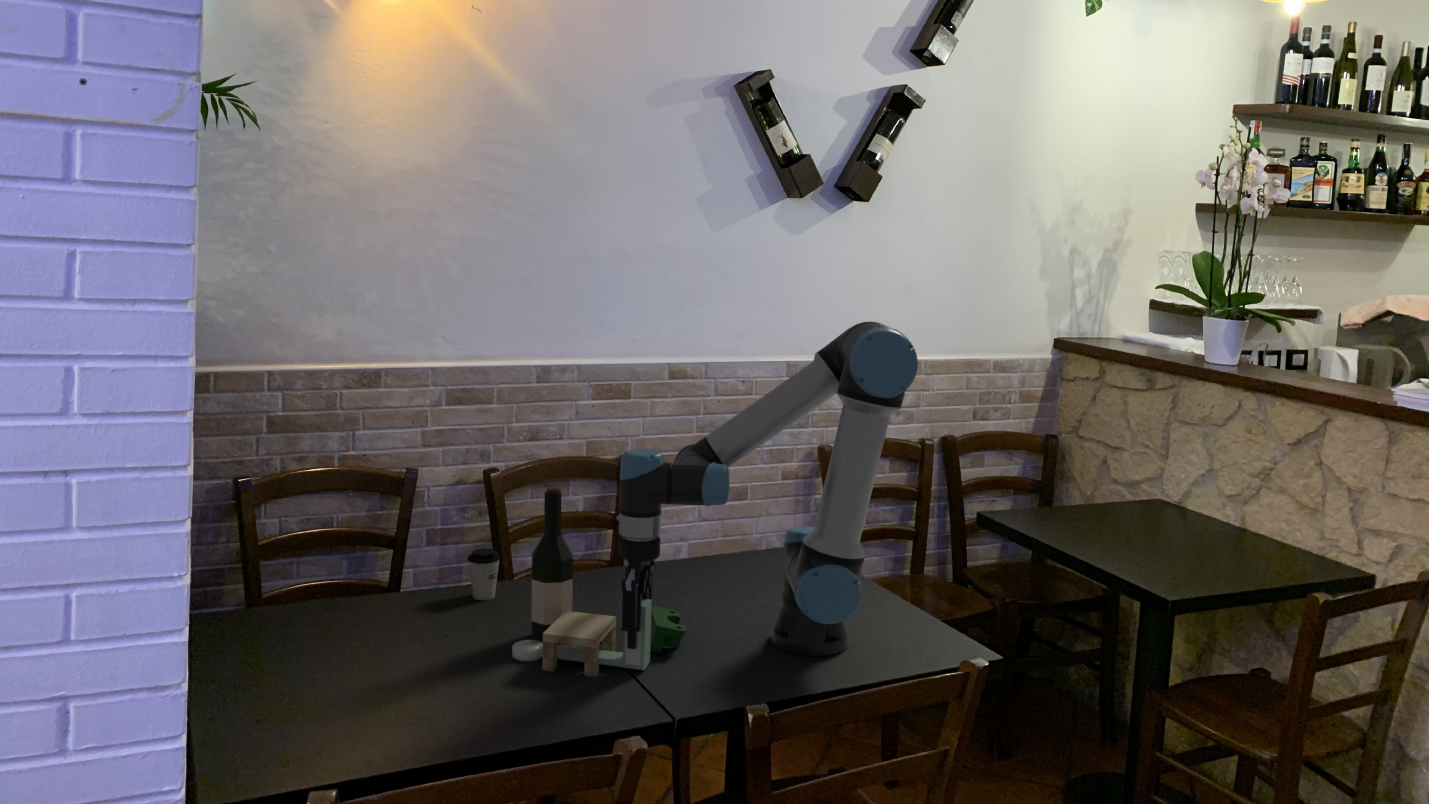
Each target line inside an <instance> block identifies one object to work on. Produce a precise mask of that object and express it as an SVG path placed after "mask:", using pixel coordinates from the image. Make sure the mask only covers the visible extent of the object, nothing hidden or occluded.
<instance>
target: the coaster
mask: <svg viewBox="0 0 1429 804" xmlns="http://www.w3.org/2000/svg"><path fill="white" fill-rule="evenodd" d="M511 647H512V648H511V649H512V650H511V651H512V652H511V654H512V658H513V659H515V660H517V661H521V662H534V661H538V660H541V659H543V657H540V650H541V649H542V648H543V642H541V641H537V640H532V639H524V640H523V639H522V640H520V641H517V642H514V643H513V644H512V646H511Z"/></svg>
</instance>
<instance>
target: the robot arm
mask: <svg viewBox="0 0 1429 804" xmlns="http://www.w3.org/2000/svg"><path fill="white" fill-rule="evenodd" d="M917 354H918V353H917V352H916V349H915V347H914V345H913V343H912V342H911V340H910V339H909V338H908V337H907V336H906V335H905V334H904V333H902V332H901V331H899V330H898V329H896V328H893V327H891V326H887V325H885V324H883V323H882V322H881V323H880V322H877V321H863V322H859V323H856V324H855V325H852V326H851V327H849V328H847V329H846V330H845V331H844V332H843V331H842V332H841V334H840V335H838V336H837V337H836V338H834V339H833V340H832V341H830V342H829V343H827V344H826V345H825V346H824V347H822V348H820V349H819V350H818V351H817V352H815V353H814V357H813V361H812V362H810V363H808V364H807V365H805V367H803V368H801V369H800V370H799V371H798V372H796V373H794V374H793V375H791V376H790V377H789V378H787V379H786V380H784V381H783V382H781V383H780V384H779V385H777V386H776V387H774V388H773V389H772V390H770V391H768V392H767V393H766V394H764V395H763V396H762V397H759V398H758V399H757V400H756V401H754V402H753V403H751V404H749V405H748V406H747V407H746V408H744V409H743V410H741V411H740V412H738V413H737V414H736V415H734V416H733V417H732V418H730V419H728V420H727V421H725V423H722V424H721V425H720V426H718V427H716V428H715V429H714V430H712V431H711V432H710V433H708V434H707V435H705V436H704V437H703V438H701V439H700V440H698V441H697V442H695V443H692V444H691V443H690V444H687V445H685V446H683V447H682V448H681V449H680V450H679V451H678V452H677V454H676V456H675V458H674V461H673V462H668V461H664V457H663V453H662V452H661V451H659V450H657V449H648V448H635V449H628V450H626V451H624V452H623V454H622V455H621V458H620V469H619V470H620V471H619V514H618V515H617V516H616V520H617V521H618V522H619V525H618V534H619V537H618V550H617V551H618V556H619V557H620V559H622V560H625V561H626V562H628V563H627V567H625V572H624V576H625V578H622V580H621V591H622V595H621V596H622V597H621V598H622V601H621V602H622V605H621V606H622V607H621V608H622V609H621V610H622V611H621V613H622V615H621V619H622V620H621V627H620V631H623V632H624V631H626V647H625V664H631V665H640V664H641V630H640V618H641V606H642V599H651V600H652V602H653V600H654V599H653V596H654V595H653V594H654V593H653V592H654V575H655V574H654V572H655V564H656V562H655V560H657V559H658V558H660V557H661V556H660V555H661V537H660V536H661V534H662V505H673V506H674V505H677V506H679V505H681V506H706V507H711V506H713V507H714V506H723V505H725V504H727V503H728V500H729V497H730V495H729V493H730V469H729V468H731V467H732V466H733V465H735V464H736V463H737V464H738V462H739V461H741V460H742V459H743V458H745V457H747V456H748V455H751V453H752V452H754V451H755V450H757V449H758V448H760V447H761V446H763V445H764V444H766V443H767V442H768V441H770V440H771V439H773V438H774V437H776V436H777V435H778V434H780V433H782V432H783V431H784V430H786V429H787V428H789V427H790V426H792V425H793V424H795V423H797V421H799V420H801V419H802V418H804V417H805V416H807V415H808V414H810V413H811V412H812V411H814V410H815V409H816V408H818V407H819V406H821V405H822V404H824V403H826V402H827V401H829V399H831V398H832V397H834V396H836V395H837V397H838V398H839V400H840V401H841V404H842V409H841V412H840V415H839V416H840V417H839V421H838V425H837V429H836V434H835V438H834V441H833V442H834V443H833V446H832V451H831V455H830V460H829V463H828V466H827V467H828V468H827V472H826V476H825V480H824V484H823V487H822V488H823V489H822V493H821V496H820V500H819V501H820V503H819V505H818V506H819V507H818V510H817V514H816V519H815V522H814V526H796V527H791V528H789V529H787V531H786V532H785V536H784V537H785V538H784V542H783V546H784V551H783V554H784V555H783V572H782V593H781V596H782V597H781V604H780V606H779V609H778V611H777V614H776V616H775V618H774V621H773V623H772V627H771V636H770V637H771V642H772V645H774V646H775V647H776V648H778V649H780V650H782V651H785V652H787V653H790V654H794V655H800V656H807V657H825V656H832V655H836V654H839V653H842V652H843V651H845V650H846V649H847V648H848V646H849V631H848V627H847V623H846V620H847V619H849V618H851V616H852V615H854V614H855V612H856V611H857V610H858V608H859V606H860V604H861V603H862V597H863V587H862V582H861V580H860V578H861V574H862V570H863V566H864V562H865V558H866V552H865V550H864V548H863V546H862V544H861V539H862V534H863V530H864V526H865V522H866V517H867V513H868V509H869V505H870V501H871V497H872V494H873V493H872V492H873V489H874V485H875V481H876V480H875V479H876V476H877V473H878V472H877V471H878V468H879V465H880V460H881V455H882V451H883V447H884V443H885V440H886V435H887V430H888V426H889V423H890V420H891V419H890V418H891V416H892V415H893V414H895V413H897V412H898V411H900V410H901V409H902V405H903V403H904V402H903V401H904V397H905V393H906V391H907V390H908V389H909V388H910V387H911V386H912V383H913V382H914V380H915V379H916V377H917V374H918V373H917V372H918V367H919V362H918V361H919V359H918V355H917ZM651 612H652V607H651ZM653 616H654V615H651V620H653Z"/></svg>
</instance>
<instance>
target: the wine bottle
mask: <svg viewBox="0 0 1429 804" xmlns="http://www.w3.org/2000/svg"><path fill="white" fill-rule="evenodd" d="M543 509H544V512H543V513H544V515H543V516H544V517H543V518H544V520H543V522H544V524H543V525H544V526H543V528H544V529H543V530H544V531H543V535H542V537H540V540H539V542H538V543H537V544H536V546H535V548H534V549H533V551H532V553H531V625H530V626H531V634H530V635H531V636H530V637H531V640H537V641H541V642H543V633H544V632H545V631H546V630H547V629H548V628H549V627H550V626H551V625H552V624H553V623H554V622H555V621H556V620H557V619H558V618H559V617H560V616H561V615H562V614H563V613H564V612H565V611H572V612H573V587H574V585H573V581H574V580H573V579H574V575H573V574H574V570H573V569H574V566H573V565H574V556H573V551H572V550H571V549H570V547H569V545H568V544H567V542H566V540H565V538H564V537H563V535H562V491H561V490H560V487H557V486H549V487H546V491H544V508H543ZM557 644H558V645H562V644H560V643H557Z"/></svg>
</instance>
